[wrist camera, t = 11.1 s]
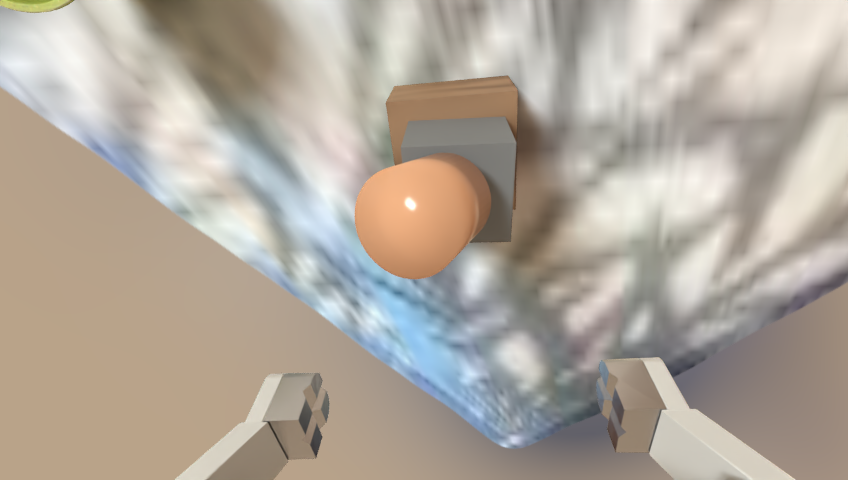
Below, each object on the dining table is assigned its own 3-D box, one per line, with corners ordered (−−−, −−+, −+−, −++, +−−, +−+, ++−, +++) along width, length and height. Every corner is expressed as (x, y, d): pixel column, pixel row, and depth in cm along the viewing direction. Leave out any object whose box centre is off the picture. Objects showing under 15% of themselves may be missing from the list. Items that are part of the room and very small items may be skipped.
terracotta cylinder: (440, 131, 21) (396, 140, 17) (511, 200, 21) (485, 226, 16) (386, 200, 23) (336, 222, 19) (449, 262, 23) (412, 300, 19)
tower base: (394, 85, 30) (385, 102, 25) (507, 75, 29) (517, 90, 25) (408, 187, 34) (402, 216, 30) (506, 180, 33) (515, 209, 29)
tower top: (408, 121, 26) (400, 147, 22) (505, 116, 25) (516, 142, 21) (415, 206, 29) (409, 243, 25) (501, 203, 29) (510, 241, 24)
